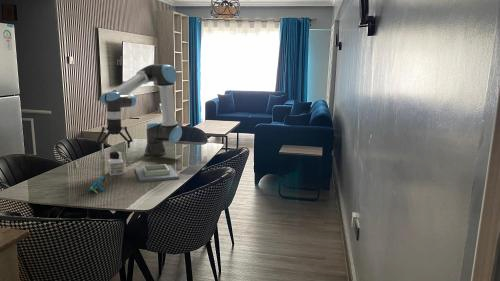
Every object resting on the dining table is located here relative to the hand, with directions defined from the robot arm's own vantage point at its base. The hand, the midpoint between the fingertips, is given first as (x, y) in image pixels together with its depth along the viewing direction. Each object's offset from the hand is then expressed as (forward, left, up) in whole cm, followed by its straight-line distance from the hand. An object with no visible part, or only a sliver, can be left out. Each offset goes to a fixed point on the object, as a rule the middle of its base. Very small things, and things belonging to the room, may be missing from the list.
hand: (115, 154), depth 225 cm
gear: (+30, -11, -12) cm, 34 cm away
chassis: (+9, +22, -12) cm, 27 cm away
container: (0, 0, -12) cm, 12 cm away
